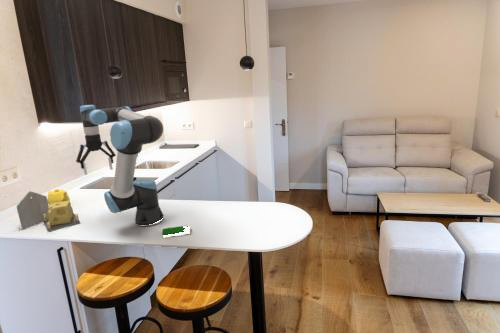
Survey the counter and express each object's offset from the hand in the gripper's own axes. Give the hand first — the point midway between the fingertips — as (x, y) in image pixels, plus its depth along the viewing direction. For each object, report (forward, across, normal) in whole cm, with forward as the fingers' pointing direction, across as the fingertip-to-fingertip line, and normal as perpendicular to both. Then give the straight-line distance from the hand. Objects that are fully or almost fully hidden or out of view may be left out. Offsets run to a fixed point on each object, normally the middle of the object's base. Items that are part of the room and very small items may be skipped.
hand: (98, 171), depth 190 cm
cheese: (+26, +22, -8) cm, 35 cm away
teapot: (+27, +17, -41) cm, 52 cm away
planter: (+27, +34, -21) cm, 48 cm away
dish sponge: (+27, -20, +50) cm, 60 cm away
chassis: (+27, +22, -8) cm, 36 cm away
